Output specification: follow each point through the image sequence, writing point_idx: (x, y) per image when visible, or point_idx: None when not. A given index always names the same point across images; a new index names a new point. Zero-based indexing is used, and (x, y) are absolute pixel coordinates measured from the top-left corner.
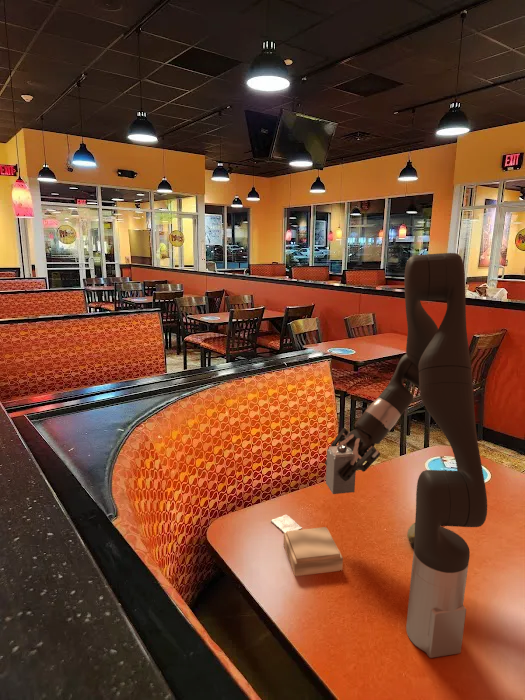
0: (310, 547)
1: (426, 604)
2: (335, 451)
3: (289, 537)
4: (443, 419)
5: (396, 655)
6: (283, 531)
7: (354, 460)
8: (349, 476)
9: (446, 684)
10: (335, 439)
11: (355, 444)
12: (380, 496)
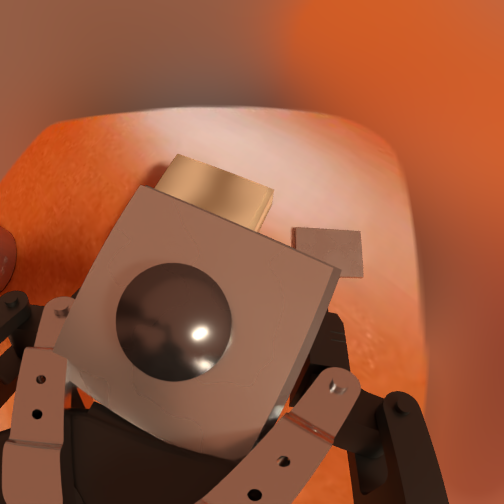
0: (183, 195)
1: None
2: (192, 238)
3: (243, 179)
4: None
5: (15, 202)
6: (308, 228)
7: (47, 323)
8: None
9: None
10: (427, 452)
11: (51, 445)
12: None
